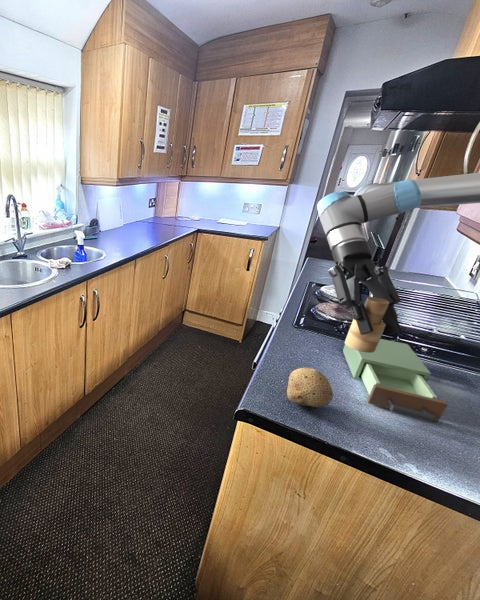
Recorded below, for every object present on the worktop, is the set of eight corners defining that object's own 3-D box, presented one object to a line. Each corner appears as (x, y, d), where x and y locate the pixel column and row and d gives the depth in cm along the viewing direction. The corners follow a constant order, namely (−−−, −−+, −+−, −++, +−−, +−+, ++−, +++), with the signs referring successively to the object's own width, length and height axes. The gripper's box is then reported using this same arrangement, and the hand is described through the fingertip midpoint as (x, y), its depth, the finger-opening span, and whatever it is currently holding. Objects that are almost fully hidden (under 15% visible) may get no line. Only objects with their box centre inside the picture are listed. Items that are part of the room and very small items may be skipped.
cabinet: (419, 395, 84) (431, 373, 81) (353, 379, 90) (361, 358, 87) (398, 363, 98) (407, 344, 95) (342, 351, 104) (349, 332, 101)
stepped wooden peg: (371, 344, 82) (390, 298, 77) (378, 355, 77) (399, 307, 72) (342, 338, 85) (359, 293, 80) (346, 348, 80) (365, 301, 75)
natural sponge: (330, 405, 79) (343, 372, 75) (320, 424, 74) (334, 389, 70) (288, 388, 85) (298, 356, 81) (277, 404, 80) (287, 371, 76)
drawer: (446, 434, 70) (457, 416, 68) (372, 414, 76) (380, 397, 74) (413, 384, 87) (421, 369, 85) (354, 370, 92) (360, 356, 90)
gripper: (372, 254, 88) (404, 337, 79) (303, 253, 87) (329, 337, 79) (398, 239, 81) (437, 328, 72) (324, 238, 80) (354, 327, 72)
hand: (380, 332), depth 75 cm, fingers closed on stepped wooden peg, 6 cm apart
